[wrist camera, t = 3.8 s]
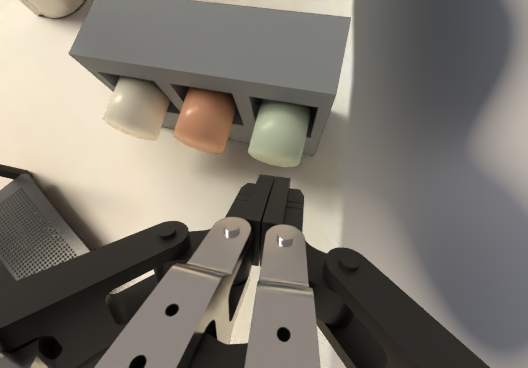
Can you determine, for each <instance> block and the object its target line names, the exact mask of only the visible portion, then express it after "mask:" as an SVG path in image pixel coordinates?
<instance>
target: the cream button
mask: <svg viewBox="0 0 528 368" xmlns="http://www.w3.org/2000/svg"><path fill="white" fill-rule="evenodd" d="M170 101H171V100H170V99H169V98H168V97H167V96H166V94H165V93H164V92H163V91H162V90H161V88H160V87H159V86H158V85H157V84H156V82H155V81H152V80H146V79H139V78H133V77H127V76H121V75H120V78H119V80H118V83H117V85H116V87H115V90H114V92H113V95H112V97H111V99H110V102H109V104H108V107H107V109H106V112H105V114H104V116H103V120H104V121H105V122H106V123H107V124H108V125H110V126H112V127H113V128H115V129H117V130H119V131H121V132H124V133H126V134H129V135H131V136H134V137H137V138H141V139H145V140H151V141H154V140H157V138H158V135H159V132H160V129H161V126H162V123H163V121H164V118H165V115H166V112H167V109H168V107H169V104H170Z"/></svg>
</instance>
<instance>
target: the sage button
mask: <svg viewBox="0 0 528 368" xmlns="http://www.w3.org/2000/svg"><path fill="white" fill-rule="evenodd" d="M310 116H311V111H310V108H309V107H308V106H306V105H300V104H294V103H288V102H282V101H275V100H269V99H263V100H262V101H261V104H260V107H259V111H258V115H257V119H256V123H255V126H254V130H253V134H252V138H251V141H250V145H249V149H248V153H249V154H250V156H252V157H253V158H255V159H257V160H259V161H261V162H263V163H266V164H270V165H274V166H280V167H295V166H298V165H299V164H300V162H301V158H302V153H303V148H304V144H305V139H306V134H307V130H308V125H309V120H310Z"/></svg>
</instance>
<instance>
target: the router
mask: <svg viewBox="0 0 528 368" xmlns="http://www.w3.org/2000/svg"><path fill="white" fill-rule="evenodd" d="M0 176H2V177H6V178H10V179H14V180H13V181H12V182H11V183H9V184H8V185H7V186H5V187H4V188H3V189H1V190H0V287H2V286H5V285H7V284H10V283H12V282H15V281H17V280H20V279H22V278H25V277H27V276H30V275H32V274H35V273H37V272H40V271H42V270H45V269H47V268H50V267H52V266H55V265H57V264H60V263H62V262H65V261H67V260H70V259H72V258H75V257H77V256H80V255H82V254H85V253H87V252H90V251H92V250H91V249H90V248H89V247H88V246H87V245H86V243H85V242H84V241H83V240H82V239H81V238H80V236H79V235H78V234H77V233H76V232H75V231H74V229H73V228H72V227H71V226H70V225H69V224H68V222H67V221H66V220H65V219H64V217H63V216H62V215H61V214H60V212H59V211H58V210H57V209H56V207H55V206H54V205H53V204H52V202H51V201H50V200H49V198H48V197H47V196H46V195H45V193H44V192H43V191H42V190H41V188H40V187H39V186H38V184H37V183H36V182H35V180H34V179H33V178H32V176H31V175H30V172H29V171H27V170H23V169H19V168H14V167H10V166H5V165H1V164H0Z"/></svg>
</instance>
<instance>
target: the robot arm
mask: <svg viewBox="0 0 528 368" xmlns="http://www.w3.org/2000/svg"><path fill="white" fill-rule="evenodd" d="M20 1H21V2H22V3H23V4H24V5H25V6H27V7H28V8H29V9H30V10H31V11H32V12H33V13H34V14H36V15H39V14H42V15H44V16H46V17H50V18H59V17H64V16H66V15H69V14H70V13H72V12H74V11H75V10H76V9H78V8H79V7H80V6H81V4H82V3H83V1H84V0H20ZM289 187H290V178H283V177H275V176H268V175H259V178H258V180H257V182H256V184H253V183H247V184H246V185H244V186H243V187H241V189H240V191H239V193H238V195H237V196H236V198H235V200H234V202H233V204H232V206H231V208H230V210H229V211H228V213H227V215H226V217H225V218H224V219H221V220H219V221H218V222H216V223H215V225H214V226H213V227H212V229H209V230H204V231H192V232H189V231H188V227H187V226H186V225H185V224H184V223H182V222H178V221H168V222H163V223H160V224H158V225H155V226H153V227H150V228H148V229H145V230H143V231H140V232H138V233H135V234H133V235H130V236H128V237H125V238H123V239H120V240H118V241H115V242H113V243H110V244H108V245H105V246H103V247H100V248H98V249H95V250H93V251H90V252H87V253H85V254H82V255H80V256H77V257H75V258H72V259H70V260H67V261H65V262H62V263H60V264H57V265H55V266H52V267H50V268H47V269H45V270H42V271H40V272H37V273H35V274H32V275H30V276H27V277H25V278H22V279H20V280H17V281H15V282H12V283H10V284H7V285H5V286H2V287H0V368H320V358H319V347H318V336H317V326H318V327H319V328H320V330H321V331H322V333H323V334H324V336H325V337H326V339H327V340H328V341H329V343H330V344H331V346H332V347H333V349H334V350H335V352H336V353H337V355H338V356H339V357H340V359H341V360H342V362H343V363H344V365H345V366H346V367H347V368H490V367H489V366H487V365H486V364H485V363H484V362H483V361H482V360H481V359H479V358H478V357H477V356H476V355H475V354H474V353H473V352H472V351H470V350H469V349H468V348H467V347H466V346H465V345H464V344H462V343H461V342H460V341H459V340H458V339H457V338H456V337H455V336H453V335H452V334H451V333H450V332H449V331H448V330H447V329H445V328H444V327H443V326H442V325H441V324H440V323H439V322H438V321H436V320H435V319H434V318H433V317H432V316H430V314H429V313H427V312H426V311H425V310H424V309H423V308H422V307H420V306H419V305H418V304H417V303H416V302H415V301H414V300H413V299H412V298H410V297H409V296H408V295H407V294H406V293H405V292H403V291H402V290H401V289H400V288H399V287H398V286H397V285H396V284H395V283H393V282H392V281H391V280H390V279H389V278H388V277H387V276H385V275H384V274H383V273H382V272H381V271H380V270H379V269H377V268H376V267H375V266H374V265H373V264H372V263H371V262H369V261H368V260H367V259H366V258H365V257H364V256H362V255H361V254H360V253H358V252H356V251H354V250H352V249H348V248H335V249H332V250H330V251H329V252H328V253H327V254H326V253H324V252H322V251H319V250H317V249H315V248H313V247H312V246H310V245H309V244H308V243H307V242H306V241H305V237H304V235H303V233H302V226H303V207H304V195H303V194H302V192H301V191H300V190H298V189H290V188H289ZM259 261H260V267H261V270H260V277H259V281H258V283H257V288H256V295H255V301H254V308H253V314H252V321H251V328H250V334H249V341H248V343H246V344H230V338H231V333H232V329H233V326H234V323H235V320H236V318H237V315H238V312H239V309H240V307H241V304H242V301H243V299H244V296H245V293H246V290H247V288H248V285H249V282H250V270H251V266H252V265H255V266H258V265H259ZM153 269H154V272H155V274H154V275H152V276H150V277H148V278H146V279H144V280H142V281H140V282H138V283H136V284H134V285H132V286H131V287H129V288H127V289H125V290H123V291H121V292H119V293H116V294H109V293H110V292H111V291H112V290H114V289H115V288H117V287H119V286H121V285H123V284H125V283H127V282H129V281H131V280H133V279H135V278H137V277H139V276H141V275H143V274H145V273H147V272H149V271H151V270H153ZM316 324H317V325H316Z"/></svg>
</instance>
